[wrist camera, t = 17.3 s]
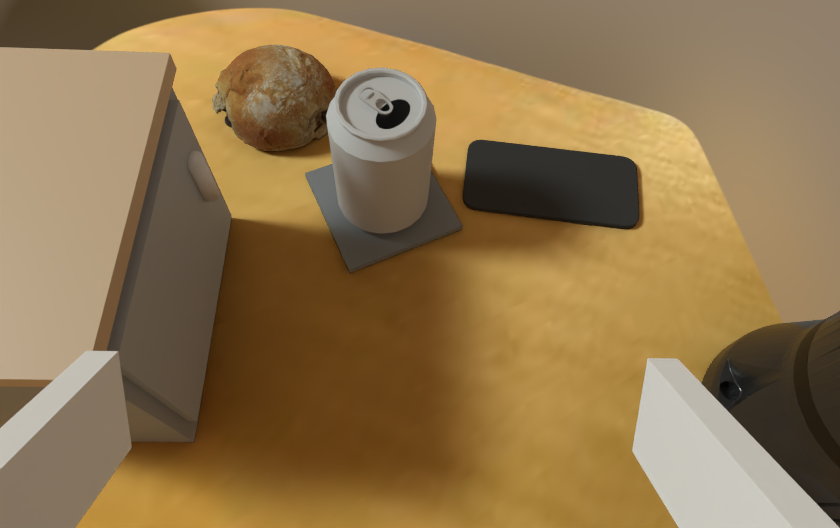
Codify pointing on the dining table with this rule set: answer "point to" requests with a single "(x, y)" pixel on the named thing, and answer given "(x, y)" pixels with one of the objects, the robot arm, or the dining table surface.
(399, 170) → the can
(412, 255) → the dining table surface
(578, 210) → the phone
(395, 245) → the mat
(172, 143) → the cabinet
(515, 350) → the dining table surface
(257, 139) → the bread roll
